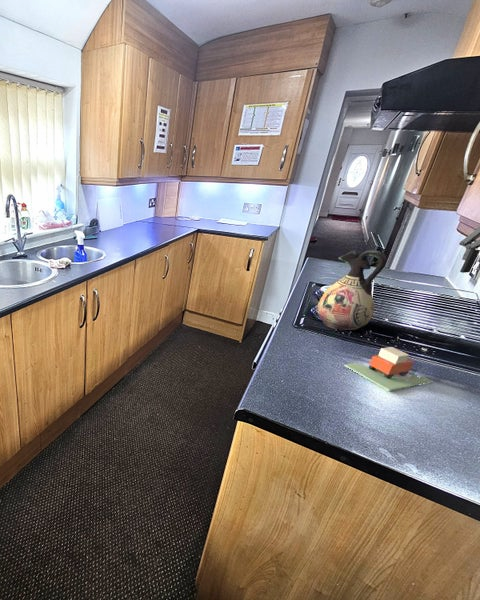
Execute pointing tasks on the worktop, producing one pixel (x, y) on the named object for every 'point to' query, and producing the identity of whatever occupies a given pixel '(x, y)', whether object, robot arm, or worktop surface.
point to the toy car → (391, 362)
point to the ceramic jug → (351, 294)
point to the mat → (384, 382)
